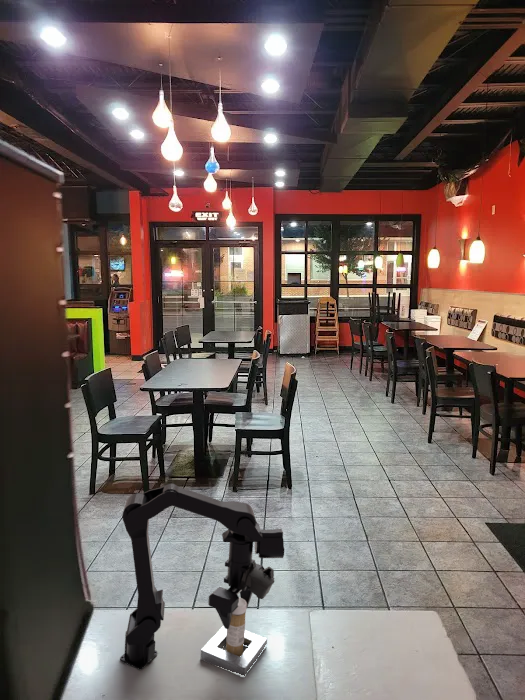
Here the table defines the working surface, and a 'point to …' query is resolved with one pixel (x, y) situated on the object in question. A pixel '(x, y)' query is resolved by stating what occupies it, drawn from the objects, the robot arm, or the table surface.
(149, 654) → the robot arm
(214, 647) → the metal collar
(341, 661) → the table surface
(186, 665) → the table surface
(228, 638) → the sprinkles bottle
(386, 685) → the table surface
